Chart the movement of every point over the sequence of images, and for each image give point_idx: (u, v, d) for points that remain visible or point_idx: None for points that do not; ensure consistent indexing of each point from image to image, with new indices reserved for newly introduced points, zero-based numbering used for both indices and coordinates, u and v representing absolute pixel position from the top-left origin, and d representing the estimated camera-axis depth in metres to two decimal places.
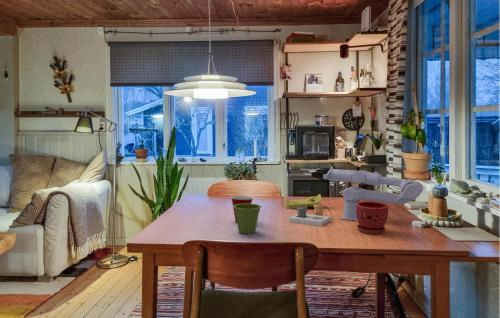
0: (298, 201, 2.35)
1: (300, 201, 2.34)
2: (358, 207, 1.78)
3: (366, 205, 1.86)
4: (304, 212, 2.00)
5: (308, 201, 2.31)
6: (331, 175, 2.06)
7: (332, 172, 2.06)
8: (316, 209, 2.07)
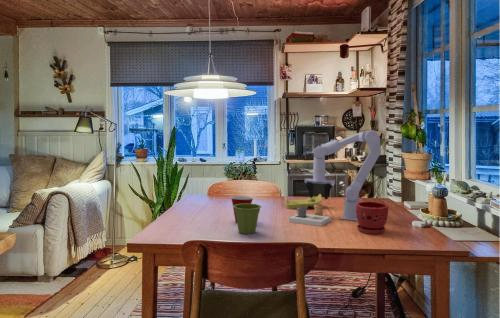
0: (298, 201, 2.34)
1: (300, 201, 2.34)
2: (358, 207, 1.78)
3: (366, 205, 1.86)
4: (304, 212, 2.00)
5: (308, 201, 2.31)
6: (324, 178, 2.06)
7: (322, 178, 2.05)
8: (316, 209, 2.07)
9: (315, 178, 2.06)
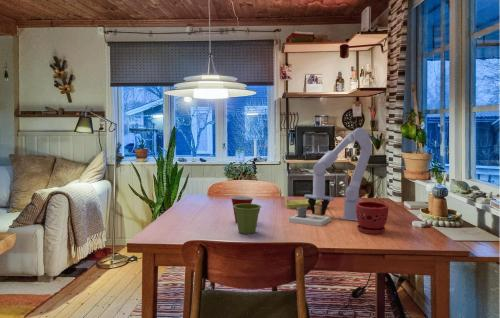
0: (299, 201, 2.34)
1: (301, 201, 2.34)
2: (358, 207, 1.78)
3: (366, 205, 1.86)
4: (304, 212, 2.00)
5: None
6: (324, 195, 2.07)
7: (322, 194, 2.06)
8: (316, 209, 2.07)
9: (315, 194, 2.06)
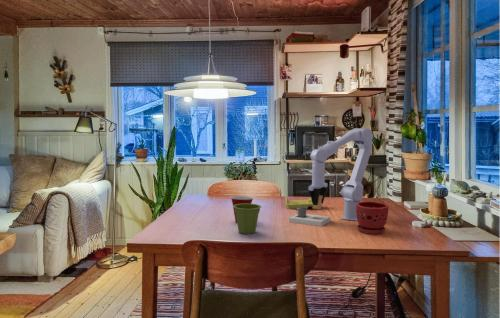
0: (299, 201, 2.34)
1: (301, 201, 2.33)
2: (358, 207, 1.78)
3: (366, 205, 1.86)
4: (304, 212, 2.00)
5: (309, 201, 2.30)
6: None
7: None
8: (320, 200, 1.96)
9: (322, 183, 1.95)
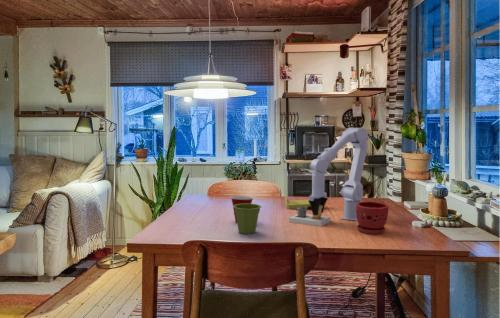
0: (299, 201, 2.33)
1: (301, 201, 2.33)
2: (358, 207, 1.78)
3: (366, 205, 1.86)
4: (304, 212, 2.00)
5: None
6: None
7: None
8: (320, 210, 1.96)
9: (322, 193, 1.94)
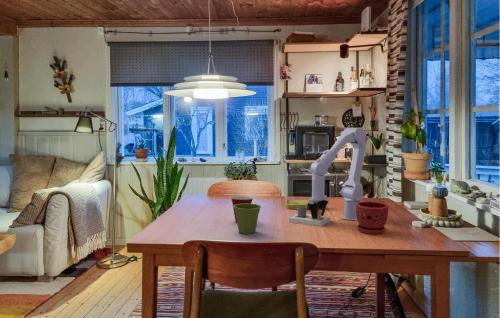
0: (300, 201, 2.33)
1: (302, 202, 2.33)
2: (358, 207, 1.78)
3: (366, 205, 1.86)
4: (304, 212, 2.00)
5: None
6: None
7: None
8: (320, 214, 1.96)
9: (322, 196, 1.94)
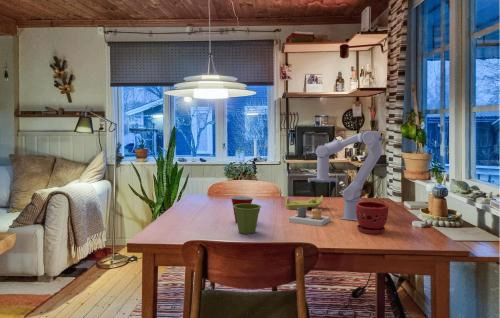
0: (300, 202, 2.32)
1: (302, 202, 2.32)
2: (358, 207, 1.78)
3: (366, 205, 1.86)
4: (304, 212, 2.00)
5: (309, 202, 2.28)
6: (328, 177, 2.12)
7: (328, 176, 2.10)
8: (320, 214, 1.96)
9: (321, 177, 2.10)
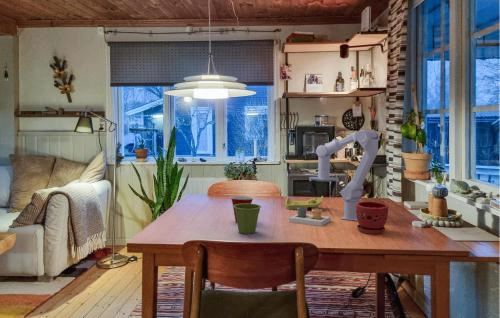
0: (300, 202, 2.32)
1: (302, 202, 2.31)
2: (358, 207, 1.78)
3: (366, 205, 1.86)
4: (304, 212, 2.00)
5: (309, 202, 2.27)
6: (329, 176, 2.15)
7: (328, 176, 2.14)
8: (320, 214, 1.96)
9: (321, 176, 2.13)
